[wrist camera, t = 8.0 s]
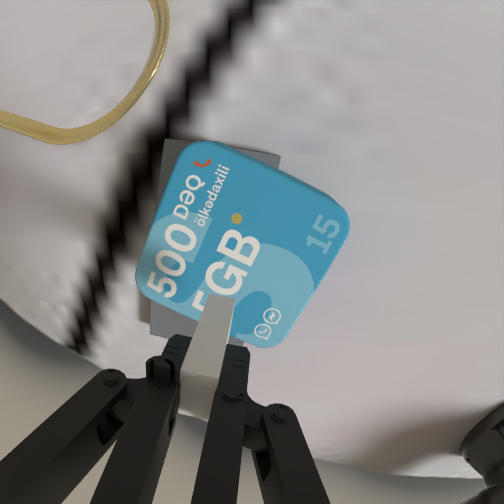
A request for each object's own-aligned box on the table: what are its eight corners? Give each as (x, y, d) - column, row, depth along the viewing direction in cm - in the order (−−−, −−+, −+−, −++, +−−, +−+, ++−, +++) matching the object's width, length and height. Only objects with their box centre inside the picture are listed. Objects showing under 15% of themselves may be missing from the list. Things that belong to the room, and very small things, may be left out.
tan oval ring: (125, 169, 25) (117, 171, 24) (-54, 104, 22) (-61, 104, 21) (209, -17, 19) (206, -25, 18) (-8, -16, 16) (-15, -19, 15)
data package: (274, 355, 23) (129, 290, 22) (274, 324, 27) (149, 267, 26) (359, 216, 19) (187, 132, 18) (344, 203, 23) (202, 134, 22)
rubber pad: (242, 344, 30) (241, 353, 29) (154, 326, 30) (149, 334, 28) (280, 155, 24) (280, 156, 22) (170, 139, 24) (164, 138, 22)
